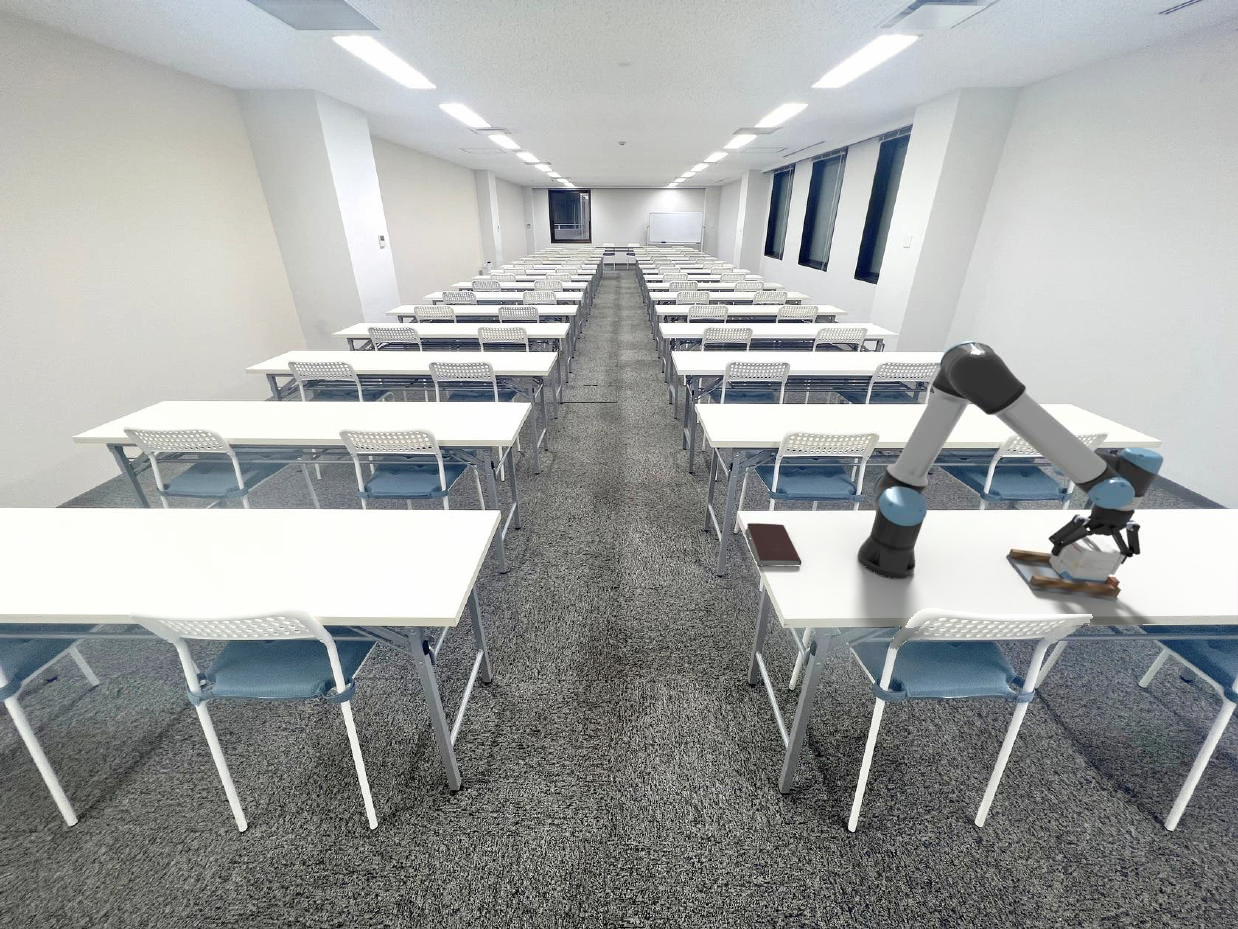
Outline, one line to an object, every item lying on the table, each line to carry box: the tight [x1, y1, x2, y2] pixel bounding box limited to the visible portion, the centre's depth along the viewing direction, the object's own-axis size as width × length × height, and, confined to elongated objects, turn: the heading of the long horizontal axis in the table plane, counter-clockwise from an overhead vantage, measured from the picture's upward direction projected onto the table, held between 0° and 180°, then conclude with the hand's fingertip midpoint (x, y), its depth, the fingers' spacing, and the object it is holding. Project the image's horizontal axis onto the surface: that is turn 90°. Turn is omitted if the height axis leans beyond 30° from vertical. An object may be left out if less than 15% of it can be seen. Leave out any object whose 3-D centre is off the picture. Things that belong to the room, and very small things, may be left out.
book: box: [745, 522, 802, 567], centre depth 151 cm, size 12×19×3 cm, turn 178°
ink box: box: [1052, 536, 1120, 584], centre depth 133 cm, size 9×8×13 cm
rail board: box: [1005, 548, 1122, 601], centre depth 137 cm, size 20×15×5 cm
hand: (1080, 568), depth 135 cm, fingers open, 13 cm apart
